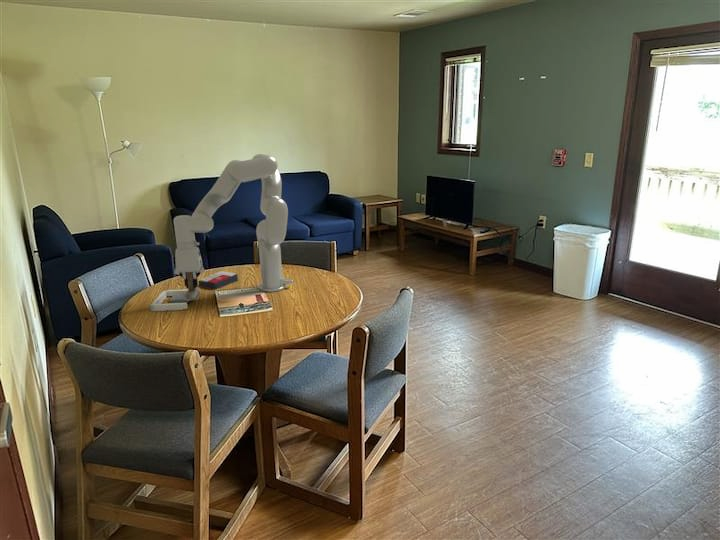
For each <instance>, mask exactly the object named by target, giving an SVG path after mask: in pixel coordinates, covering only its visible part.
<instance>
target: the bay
mask: <svg viewBox="0 0 720 540" xmlns="http://www.w3.org/2000/svg"><path fill="white" fill-rule="evenodd" d="M187 291H188V288H186V289H169V290H167V289H166V290H165V289H164V290H163V291H161V293H159V295H158V296H157V297H156V298H155V299H154V300H153V302H151V304H150V305H149V310H150V312H163V311H167V310H168V311H183V309H187V308H189V307H188V304H187V303H170V302H169V303H163V302H164V301H165V300H164V299H166V298H167V296H172V297H173V295H184V294H186V292H187ZM163 300H164V301H163ZM187 310H188V309H187ZM168 311H167V312H168Z"/></svg>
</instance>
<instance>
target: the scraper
mask: <svg viewBox="0 0 720 540" xmlns="http://www.w3.org/2000/svg"><path fill="white" fill-rule="evenodd" d="M186 275H187V282H188V288H187V289H188V291H187V292H186V294H185V297H186V301H189V302H190V301H197V299H198V297H199V296H200V294H201V292H200V291H201V290H200V286H197V287H196V288H194V287H193V272H186Z"/></svg>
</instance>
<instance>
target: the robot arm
mask: <svg viewBox="0 0 720 540" xmlns="http://www.w3.org/2000/svg"><path fill="white" fill-rule="evenodd" d="M259 179H260V180H261V195H260V196H261V198H260V204H259V205H260V212H261V214H263V215H264V216H265V219H263V220H261V221H260V222H259V223H258V224H257V225H256V231H255V233H256V239H257V243H258V253H259V254H258V255H259V264H260V265H259V266H260V276H261V277H260V278H261V283H260V284H259V285H258V289H259V290H260V291H261V292H279V291H282V290H285V289H286V288H287V284H290V285H292V284H293V279H291V278H284V275H283V268H282V254H281V253H282V251H281V244H282V243H283V242H284V240H285V238H286V235H287V226H288V218H289V209H288V204H287V203H286V201H285V200H284V199H282V189H283V188H282V185H283V184H282V183H283V181H282V177H281V173H280V171H279V169H278V162H277V160H276V158H274V157H273V156H272V155H268V154H255V155H254V156H253V157H252V158H250V159H247V160H238V159H235V160H231V161H229V162H228V163H227V164H226V166H225V167H224V169H223V170H222V172H221V174H220V175H219V177H218V178H217V180H216V181H215V183H214V184H213V186H212V188H211V189H210V190H209V191H208V192H207V194H205V195H204V197H203V198H202V200H201V201H200V202H199V203H198V205H197V207H196V208H195V210H194V211H193V212H192V215H189V214H188V215H187V214H186V215H185V214H183V215H181V214H180V215H177V216H175V217H174V218H173V226H174V227H173V228H174V234H175V235H174V236H175V241H176V248H175V255H174V258H175V259H174V262H175V270H174V272H173V273H174V274H175V275H178V276H179V277H181V278H182V280H183V282H184V286H185V288H186V289H188V282H187V275H186V272H193V287H194V288H196V287H198V286H199V282H198V281H199V280H198V277H199V276H200V275H202V274H203V273H205V272H206V269H205V268H204V266H203V259H202V256H201V255H202V254H201V252H200V248H199V247H198V246H200V242H198V241H197V240H196V235H195V233H198V234H201V233H202V234H204V233H209V232H210V231H212V230H213V229H214V226H215V225H214V219H213V218H212V217H213V216H214V214H215V213H216V211H217V210H218V209H219V208H220V207H221V206H223V205H224V204H226V203H228V202H229V201H230V200H231V199H232V197H233V196H234V194H235V193H236V191H237V189H238V188H239V186H240V185H241V184H242V183H247V182H251V181H256V180H259Z"/></svg>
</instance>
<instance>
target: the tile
mask: <svg viewBox="0 0 720 540" xmlns="http://www.w3.org/2000/svg"><path fill="white" fill-rule="evenodd" d="M168 301H169V303H188V304H189V303H190V301H186V297H185V294H184V295H173V296H172V297H171V298H170V299H169V300H168Z"/></svg>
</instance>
